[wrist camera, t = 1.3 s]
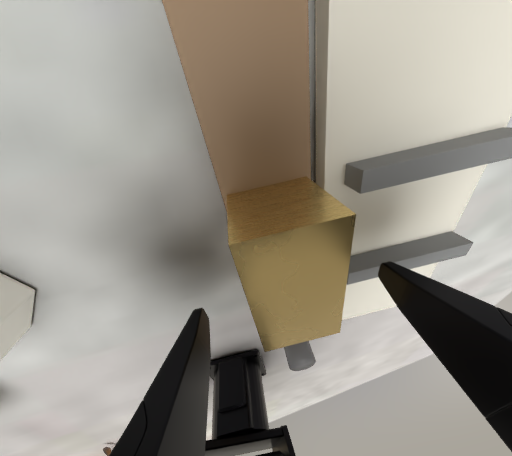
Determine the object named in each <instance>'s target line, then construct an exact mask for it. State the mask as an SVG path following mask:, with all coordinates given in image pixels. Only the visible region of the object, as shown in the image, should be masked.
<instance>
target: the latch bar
mask: <svg viewBox="0 0 512 456" xmlns="http://www.w3.org/2000/svg"><path fill="white" fill-rule="evenodd" d="M226 196H227V220H228V243H229V248H230V251H231V253H232V256H233V259H234V262H235V265H236V268H237V271H238V274H239V277H240V280H241V283H242V286H243V289H244V292H245V295H246V298H247V301H248V304H249V307H250V310H251V313H252V316H253V319H254V322H255V324H256V327H257V330H258V333H259V336H260V339H261V342H262V345H263V348H264V351H265V352H267V351H270V350H274V349H278V348H282V347H286V346H290V345H294V344H297V343H301V342H305V341H309V340H313V339H317V338H321V337H324V336H328V335H332V334H336V333H340V328H341V321H342V314H343V307H344V299H345V292H346V285H347V278H348V270H349V263H350V256H351V249H352V241H353V234H354V227H355V220H356V214H355V213H354V212H353V211H351V210H350V209H349V208H347V207H346V206H345V205H343V204H342V203H341V202H340V201H338V200H337V199H336V198H334V197H333V196H332V195H330V194H329V193H328V192H326V191H325V190H324V189H322V188H321V187H320V186H319V185H317V184H316V183H315V182H313V181H312V180H311V179H309V178H308V177H307V176H306V177H302V178H297V179H293V180H289V181H284V182H280V183H276V184H271V185H267V186H263V187H258V188H254V189H250V190H245V191H241V192H237V193H233V194H228V195H226Z"/></svg>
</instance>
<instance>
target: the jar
mask: <svg viewBox="0 0 512 456" xmlns="http://www.w3.org/2000/svg"><path fill="white" fill-rule="evenodd" d="M34 297H35V290H34V289H33V288H31V287H29V286H27V285H25V284H23V283H20V282H18V281H16V280H14V279H12V278H10V277H8V276H6V275H4V274H2V273H0V361H1V360H2V359H3V357H4V356H5V355H6V354H7V353H8V352H9V351H10V350H11V349H12V347H13V346H14V345H15V344H16V343H17V342H18V341H19V340H20V339H21V337H22V336H23V335H24V334H25V333H26V332H27V331H28V330H29V329H30V327H31V322H32V313H33V305H34Z"/></svg>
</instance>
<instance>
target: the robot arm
mask: <svg viewBox="0 0 512 456" xmlns="http://www.w3.org/2000/svg"><path fill="white" fill-rule="evenodd" d="M378 277H379V279H380V281H381V282H382V284H383V285H384V287H385V289H386V290H387V292H388V293H389V295H390V296H391V298H392V299H393V301H394V302H395V304H396V305H397V307H398V308H399V309H400V311H401V312H402V313H403V315H404V316H405V317H406V318H407V320H408V321H409V322H410V323H411V325H412V326H413V327H414V328H415V330H416V331H417V332H418V334H419V335H420V336H421V337H422V339H423V340H424V341H425V342H426V344H427V345H428V346H429V347H430V349H431V350H432V351H433V353H434V354H435V355H436V356H437V358H438V359H439V360H440V361H441V363H442V364H443V365H444V366H445V367H446V369H447V370H448V372H449V373H450V374H451V375H452V376H453V378H454V379H455V380H456V382H457V383H458V384H459V385H460V387H461V388H462V389H463V391H464V392H465V393H466V394H467V396H468V397H469V398H470V399H471V400H472V402H473V403H474V404H475V406H476V407H477V408H478V410H479V411H480V412H481V413H482V415H483V416H484V417H485V418H486V420H487V421H488V422H489V424H490V425H491V426H492V427H493V429H494V430H495V431H496V433H498V435H499V436H500V438H501V439H502V440H503V441H504V443H505V444H506V445H507V446H508V448H509V449H510V450H511V452H512V313H509V312H507V311H505V310H503V309H500V308H496V307H495V306H493V305H491V304H489V303H486V302H484V301H482V300H479V299H477V298H475V297H472V296H470V295H468V294H465V293H463V292H461V291H458V290H456V289H454V288H452V287H449V286H447V285H445V284H442V283H440V282H438V281H435V280H433V279H431V278H428V277H426V276H424V275H421V274H419V273H417V272H415V271H412V270H410V269H408V268H405V267H403V266H401V265H398V264H396V263H394V262H391V261H387V262H383V263H381V264H380V268H379V271H378ZM210 357H211V353H210V329H209V318H208V316H207V314H206V312H205V311H204V309H203V308H199V309H195V310H194V311H193V312H192V314H191V316H190V318H189V319H188V321H187V323H186V325H185V326H184V328H183V330H182V332H181V333H180V335H179V337H178V339H177V340H176V342H175V344H174V346H173V347H172V349H171V351H170V353H169V354H168V356H167V358H166V360H165V361H164V363H163V365H162V367H161V368H160V370H159V372H158V374H157V376H156V377H155V379H154V381H153V383H152V384H151V386H150V388H149V390H148V391H147V393H146V395H145V397H144V399H143V401H142V402H141V403H140V405H139V407H138V409H137V411H136V412H135V414H134V416H133V417H132V419H131V421H130V422H129V424H128V426H127V428H126V429H125V431H124V433H123V434H122V436H121V437H120V439H119V441H118V442H117V444H116V445H115V447H114V449H113V450H112V452H111V453H110V455H109V456H235V455H240V454H244V453H250V452H255V451H260V450H265V449H270V448H272V449H273V452H270V453H266V454H261V455H256V456H295V453H294V449H293V446H292V442H291V439H290V435H289V432H288V429H287V426H286V425H285V426H281V427H280V428H275V429H269V426H268V418H267V411H266V404H265V398H264V391H263V384H262V377H261V376H264V375H266V370H265V367H264V364H263V362H262V359H261V356H260V354H259V351H257V350H254V351H250V352H246V353H242V354H239V355H235V356H231V357H227V358H223V359H219V360H215V361H211V362H210ZM209 376H211V378H212V379H213V380H214V390H213V420H212V440H207V441H206V426H207V409H208V393H209Z"/></svg>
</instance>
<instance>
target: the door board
mask: <svg viewBox="0 0 512 456" xmlns="http://www.w3.org/2000/svg"><path fill="white" fill-rule="evenodd" d="M162 2H163V5H164V8H165V12H166V15H167V18H168V21H169V25H170V28H171V31H172V34H173V38H174V41H175V44H176V47H177V51H178V54H179V57H180V61H181V64H182V67H183V70H184V74H185V77H186V80H187V83H188V87H189V90H190V93H191V97H192V100H193V103H194V106H195V110H196V113H197V116H198V119H199V123H200V126H201V129H202V132H203V136H204V139H205V142H206V146H207V149H208V152H209V155H210V159H211V162H212V165H213V168H214V172H215V175H216V178H217V181H218V185H219V188H220V191H221V195H222V198H223V201H224V204H225V208H226V211H227V196H226V195H228V194H233V193H237V192H241V191H245V190H250V189H254V188H258V187H263V186H267V185H271V184H276V183H280V182H284V181H289V180H293V179H297V178H302V177H306V176H307V177H308V178H309V179H311V153H310V91H309V30H308V0H162ZM315 79H316V184H317V185H319V186H320V187H321V188H322V189H324V190H325V191H326V192H328V193H329V194H330V195H332V196H333V197H334V198H336V199H337V200H338V201H340V202H341V203H342V204H343V205H345V206H346V207H347V208H349V209H350V210H351V211H353V212H354V213H355V214H356V220H355V227H354V234H353V241H352V249H351V256H350V263H349V270H348V278H347V285H346V292H345V299H344V307H343V314H342V320H345V319H349V318H353V317H357V316H360V315H364V314H368V313H372V312H376V311H380V310H384V309H388V308H392V307H395V306H397V305H396V304H395V302H394V301H393V299H392V298H391V296H390V295H389V293H388V292H387V290H386V289H385V287H384V285H383V284H382V282H381V281H380V279H379V277H378V271H379V268H380V264H381V263H383V262H387V261H391V262H394V263H396V264H398V265H401V266H403V267H405V268H408V269H410V270H412V271H415V272H417V273H419V274H421V275H424V276H426V277H428V278H430V277H431V275H432V273H433V271H434V269H435V267H436V265H437V263H438V262H440V261H444V260H448V259H452V258H456V257H460V256H464V255H466V254H467V252H468V251H469V249H470V248H471V246H472V244H473V242H471V241H470V240H468V239H466V238H464V237H462V236H460V235H458V234H456V233H454V232H453V231H454V229H455V227H456V225H457V223H458V221H459V219H460V217H461V215H462V213H463V211H464V209H465V207H466V205H467V203H468V201H469V199H470V197H471V195H472V193H473V191H474V189H475V187H476V185H477V183H478V181H479V179H480V178H481V176H482V174H483V172H484V170H485V168H486V166H487V164H489V163H493V162H497V161H501V160H506V159H510V158H512V128H506V126H507V124H508V122H509V120H510V118H511V116H512V0H315ZM284 349H285V353H286V357H287V361H288V364H289V368H290V370H293V371H300V370H304V369H307V368H309V367H311V366H313V365H314V364H315V362H316V360H315V357H314V355H313V352H312V349H311V347H310V344H309V341H305V342H301V343H297V344H294V345H290V346H286V347H284Z"/></svg>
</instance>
